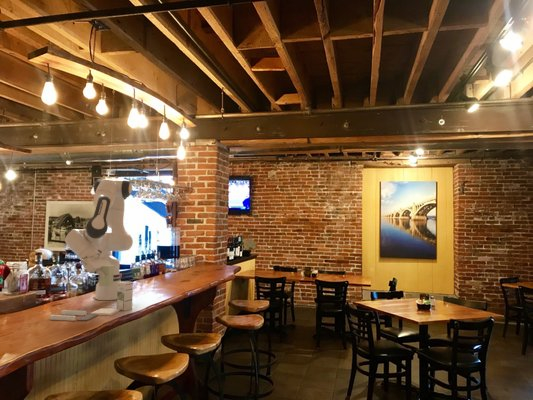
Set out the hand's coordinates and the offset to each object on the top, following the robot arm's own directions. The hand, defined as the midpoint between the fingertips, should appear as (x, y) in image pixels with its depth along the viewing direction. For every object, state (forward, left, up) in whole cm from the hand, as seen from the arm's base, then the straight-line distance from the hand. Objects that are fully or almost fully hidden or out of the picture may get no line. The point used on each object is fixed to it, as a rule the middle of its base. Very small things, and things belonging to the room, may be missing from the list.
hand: (107, 275), depth 201 cm
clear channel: (+11, -10, -19) cm, 24 cm away
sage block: (0, -1, -5) cm, 5 cm away
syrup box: (-9, +6, -19) cm, 22 cm away
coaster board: (0, 0, -19) cm, 19 cm away
